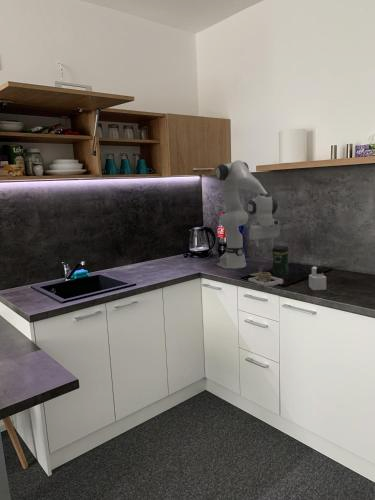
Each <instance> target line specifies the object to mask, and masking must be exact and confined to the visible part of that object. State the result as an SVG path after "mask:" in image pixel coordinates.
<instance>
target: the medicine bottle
mask: <svg viewBox="0 0 375 500" xmlns="http://www.w3.org/2000/svg"><path fill="white" fill-rule="evenodd" d="M308 288H309V289H311V290H313V291H324V290H327V276H326V275H324V267H323V266H319V265H316V266H315V265H314V266H312V267H311V274H308Z"/></svg>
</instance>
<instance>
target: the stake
mask: <svg viewBox="0 0 375 500" xmlns="http://www.w3.org/2000/svg"><path fill="white" fill-rule="evenodd" d="M263 268H264V267H262V266H259V267H258V272H254V273H249V275H250V276H253V277H258V276H259V273H260V272H263ZM270 276H272V274H271V273H270Z"/></svg>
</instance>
